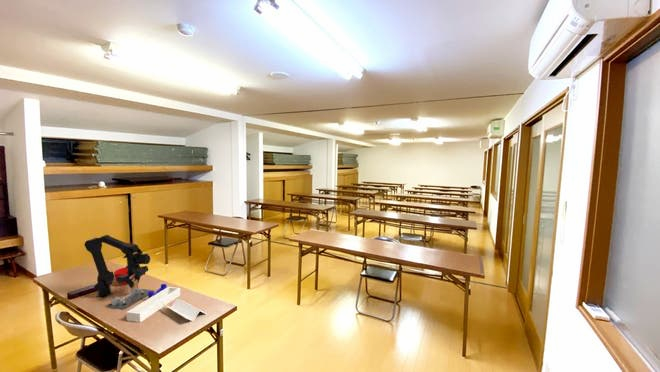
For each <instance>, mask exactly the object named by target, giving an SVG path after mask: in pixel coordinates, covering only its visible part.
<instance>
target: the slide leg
mask: <svg viewBox="0 0 660 372" xmlns="http://www.w3.org/2000/svg"><path fill="white" fill-rule="evenodd" d="M139 288H140V287H139V283H138V279H133V280H132V288H130V287H129V293H136V292H138V291H141V292H142V294H143V289H144V288H142V289H139Z"/></svg>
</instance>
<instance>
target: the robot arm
mask: <svg viewBox="0 0 660 372" xmlns="http://www.w3.org/2000/svg"><path fill="white" fill-rule="evenodd" d="M103 243H104V244H107V245H109V246H111V247H113V248H115V249H119V250H120V251H121V253H123V254H124V256H123V257H122V258H123V259H126V266H125V267H126V268H128V272H126V274H128V275H122V276H119V277H118V278H117V281H116V283H118V282H126V283H127V284H128V285H127V286H128V287H129V289H130V288H132V280H133V279H138V284H139V282H140V280H141V277H142V276H144V275H146V273H147V272H148V271H149V267H148V266H147V265H148V264H149V263H150V262H151V256H150V255H149V254H148V253H143V251H142V249H141V248H140V247H139V245H138V244H136V243H131V242H124V241H122V240H119V239H117V238H116V237H115V238H114V237H112V236H110V235H109V234H106V235H102V236H100V237H94V238H91V239H88V240H86V241H85V243H84V247H85V249H86V251H87V252H89V253H90V254H91V256H92V259H93V262H94V264H95V267H96V270H97V278H96V279H97V283H96V284H95V285H94V286H93V289H94V290H97V295H96V296H95V297H96V298H99V299H100V298H101V299H104V298H106V297H107V298H108V297H109V296H110V295H112V294H113V292H112V290H111V286H110V285H112V284H113V282H114V280H115V276H114V271H111V270H110V271H109V270H108V267H107V264H106V260H105V257H104V255H103V252H102V249H103V248H102V247H103ZM141 265H144V266H141ZM133 275H134V278H132V276H133Z"/></svg>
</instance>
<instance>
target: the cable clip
mask: <svg viewBox="0 0 660 372" xmlns="http://www.w3.org/2000/svg"><path fill="white" fill-rule="evenodd" d="M167 287H168V286H167V283H162V284H160V287H159V288H158V289H157V291H156V292H155V290H154V291H149V292H148V296H147V299H149V298H151V297H152V296H154V295H156V294H157V293H159V292H161V291H162V290H164V289H166V288H167Z"/></svg>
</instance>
